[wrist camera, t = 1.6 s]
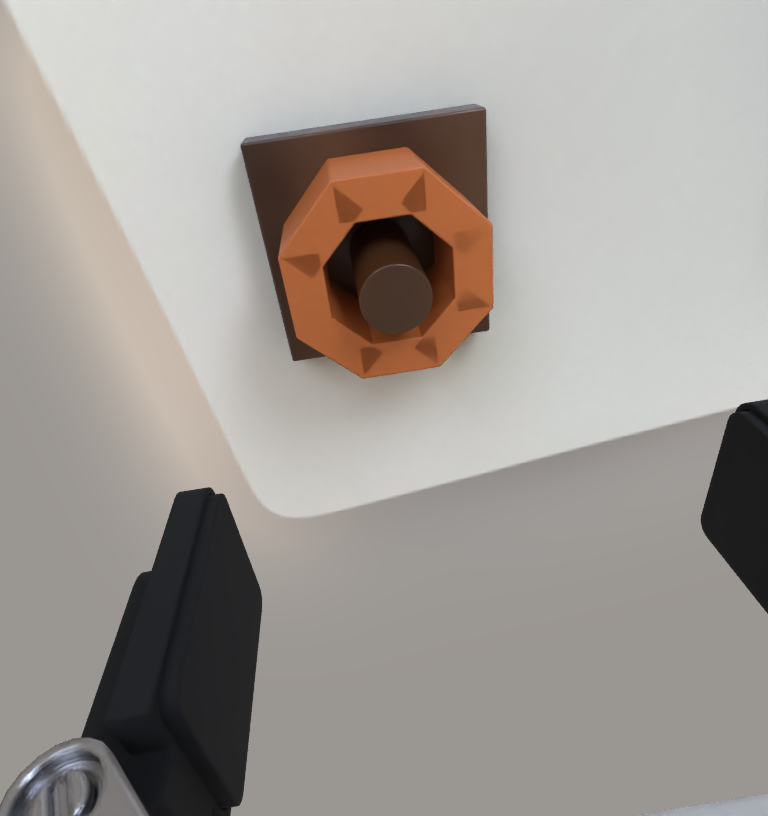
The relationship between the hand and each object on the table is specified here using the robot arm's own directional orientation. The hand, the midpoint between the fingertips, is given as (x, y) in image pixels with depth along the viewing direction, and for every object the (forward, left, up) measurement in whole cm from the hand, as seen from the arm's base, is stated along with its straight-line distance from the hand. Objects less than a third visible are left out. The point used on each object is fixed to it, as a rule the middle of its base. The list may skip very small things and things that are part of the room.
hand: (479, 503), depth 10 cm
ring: (0, 0, -15) cm, 15 cm away
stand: (0, 0, -16) cm, 16 cm away
